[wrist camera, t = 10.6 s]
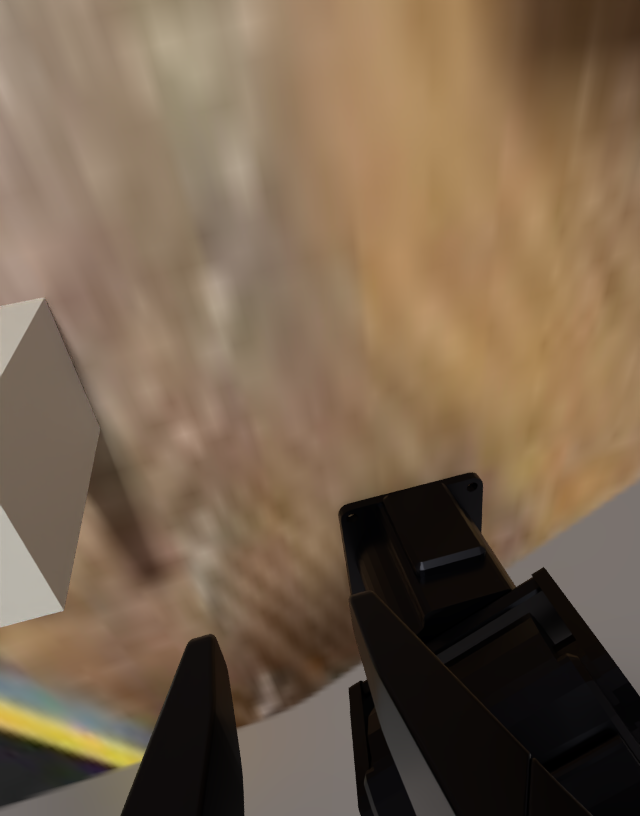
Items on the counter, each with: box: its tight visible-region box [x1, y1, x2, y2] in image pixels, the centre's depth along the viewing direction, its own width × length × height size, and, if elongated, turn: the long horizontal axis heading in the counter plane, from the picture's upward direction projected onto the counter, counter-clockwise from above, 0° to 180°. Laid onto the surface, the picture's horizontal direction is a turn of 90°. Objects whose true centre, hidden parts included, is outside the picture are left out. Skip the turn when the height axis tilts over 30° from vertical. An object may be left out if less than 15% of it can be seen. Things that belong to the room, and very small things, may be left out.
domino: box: [0, 297, 100, 627], centre depth 15 cm, size 5×2×8 cm, turn 8°
